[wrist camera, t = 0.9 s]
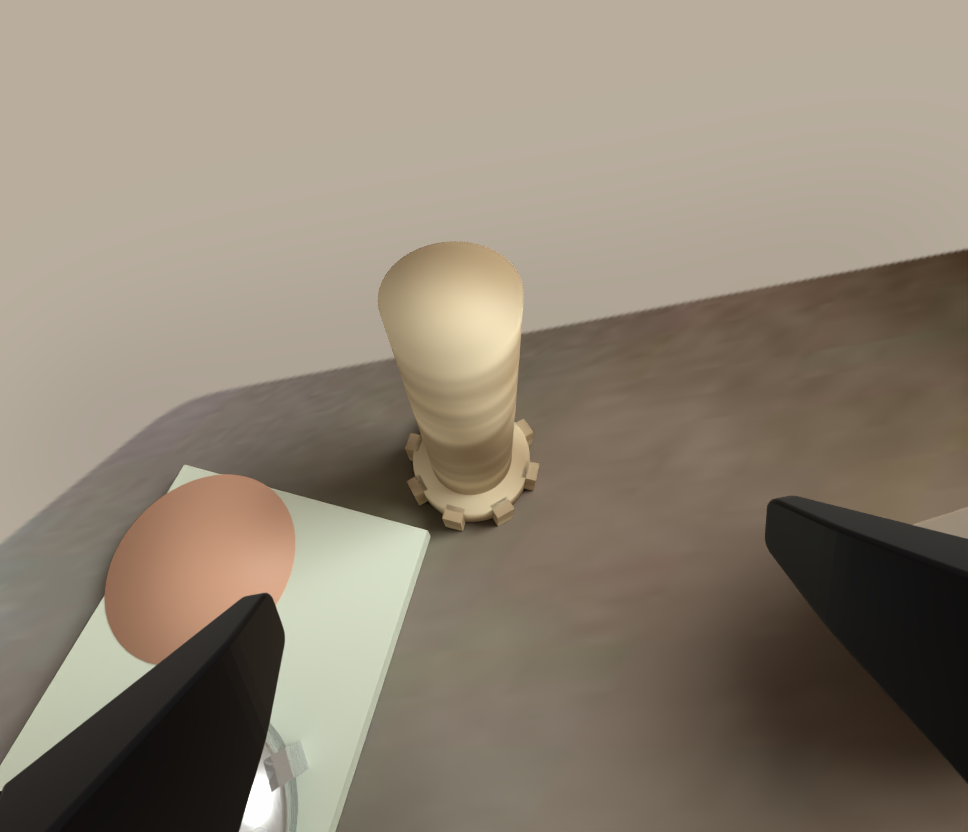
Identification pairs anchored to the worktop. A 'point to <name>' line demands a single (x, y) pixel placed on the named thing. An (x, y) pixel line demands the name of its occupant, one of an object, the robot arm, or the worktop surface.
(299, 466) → the worktop surface
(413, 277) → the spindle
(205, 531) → the board
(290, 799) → the gear
